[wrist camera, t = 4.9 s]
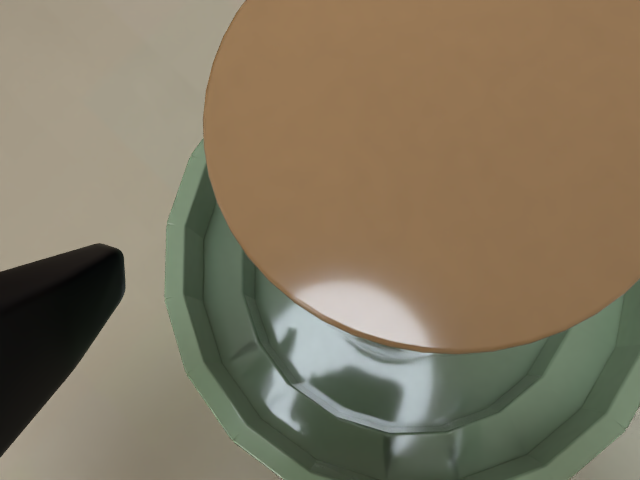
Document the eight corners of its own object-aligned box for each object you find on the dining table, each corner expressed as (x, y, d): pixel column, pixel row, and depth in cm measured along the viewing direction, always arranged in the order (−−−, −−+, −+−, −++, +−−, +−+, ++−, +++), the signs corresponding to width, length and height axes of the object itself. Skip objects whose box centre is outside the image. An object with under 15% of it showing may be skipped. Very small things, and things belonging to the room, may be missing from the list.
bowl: (704, 301, 18) (799, 281, 14) (374, 581, 17) (373, 649, 13) (422, 24, 21) (433, -57, 17) (137, 246, 20) (77, 215, 16)
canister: (537, 281, 18) (827, 124, 6) (390, 403, 18) (413, 473, 6) (412, 147, 19) (462, -178, 8) (275, 256, 19) (114, 83, 7)
